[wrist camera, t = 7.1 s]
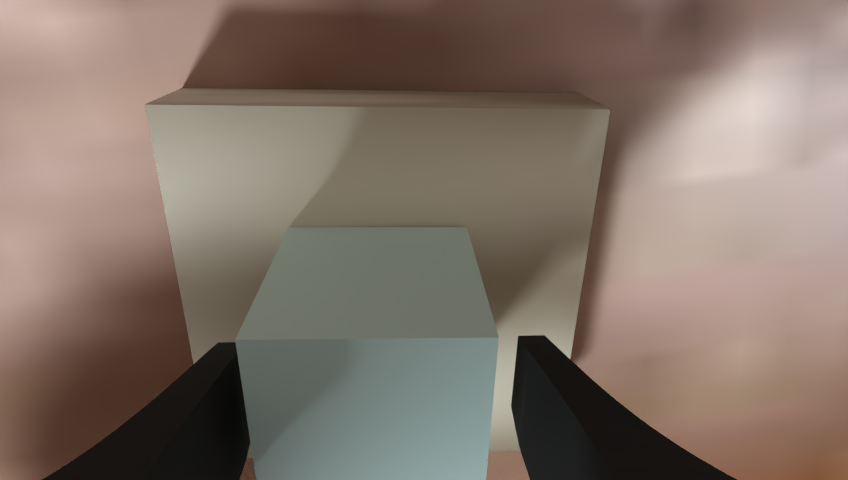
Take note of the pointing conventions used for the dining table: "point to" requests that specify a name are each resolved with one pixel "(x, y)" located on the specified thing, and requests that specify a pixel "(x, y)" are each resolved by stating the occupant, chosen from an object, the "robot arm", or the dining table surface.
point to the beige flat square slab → (383, 195)
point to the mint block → (370, 357)
